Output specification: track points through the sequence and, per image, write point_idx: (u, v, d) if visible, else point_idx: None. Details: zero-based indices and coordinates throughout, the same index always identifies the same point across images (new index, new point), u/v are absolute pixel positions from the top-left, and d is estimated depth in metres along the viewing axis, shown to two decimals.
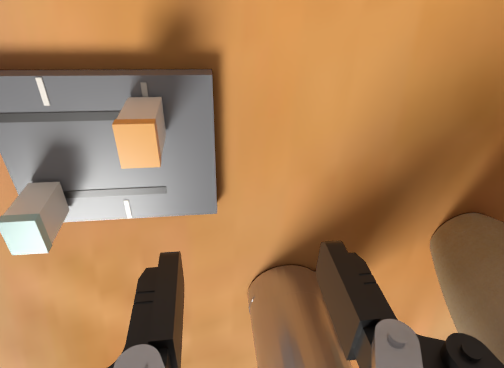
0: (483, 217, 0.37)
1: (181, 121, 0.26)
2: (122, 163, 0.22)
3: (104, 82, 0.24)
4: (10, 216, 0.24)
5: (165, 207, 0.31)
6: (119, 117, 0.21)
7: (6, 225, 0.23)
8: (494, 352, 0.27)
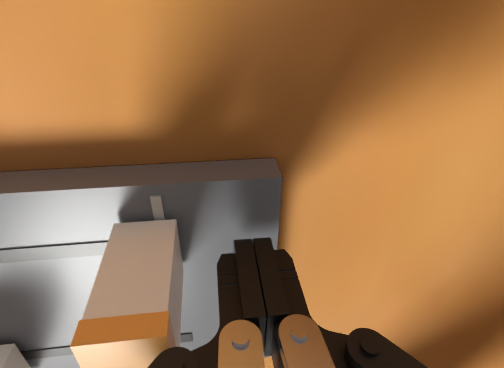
0: None
1: (222, 248, 0.15)
2: None
3: (82, 199, 0.13)
4: None
5: None
6: (91, 307, 0.10)
7: None
8: None
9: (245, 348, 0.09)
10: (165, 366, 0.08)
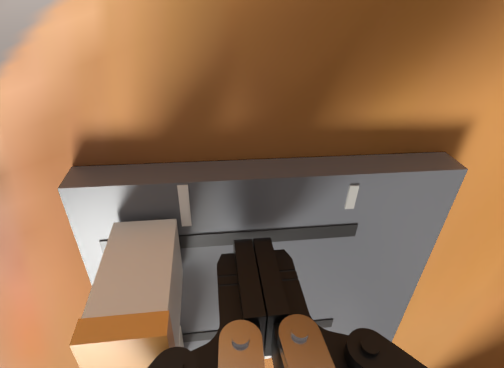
0: None
1: (391, 236, 0.16)
2: None
3: (290, 187, 0.14)
4: None
5: None
6: (90, 305, 0.10)
7: None
8: None
9: (245, 348, 0.09)
10: (165, 366, 0.08)
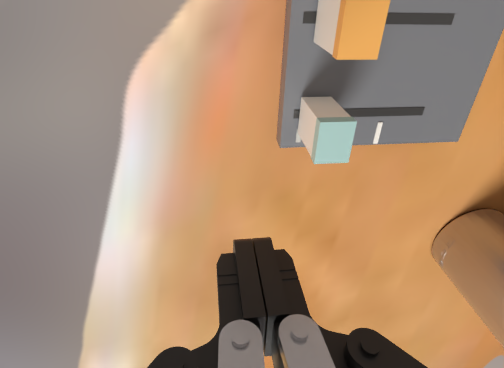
0: None
1: (473, 28, 0.25)
2: (340, 52, 0.19)
3: None
4: (325, 118, 0.22)
5: (413, 132, 0.29)
6: None
7: (327, 126, 0.22)
8: None
9: (245, 348, 0.09)
10: (165, 366, 0.08)
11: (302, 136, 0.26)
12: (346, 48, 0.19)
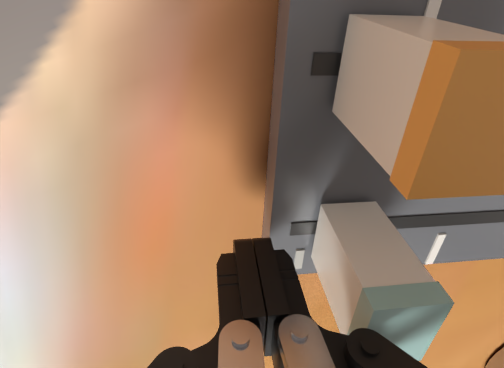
0: None
1: None
2: (417, 184, 0.07)
3: None
4: (381, 290, 0.10)
5: (493, 245, 0.17)
6: (428, 38, 0.07)
7: (389, 314, 0.10)
8: None
9: (245, 348, 0.09)
10: (165, 366, 0.08)
11: (322, 276, 0.14)
12: (436, 174, 0.07)
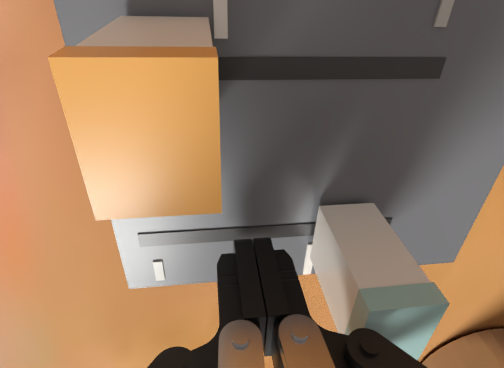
0: None
1: (484, 84, 0.12)
2: (98, 204, 0.06)
3: None
4: (377, 290, 0.10)
5: None
6: (86, 44, 0.06)
7: (385, 315, 0.10)
8: None
9: (245, 348, 0.09)
10: (165, 366, 0.08)
11: (320, 277, 0.14)
12: (114, 193, 0.06)
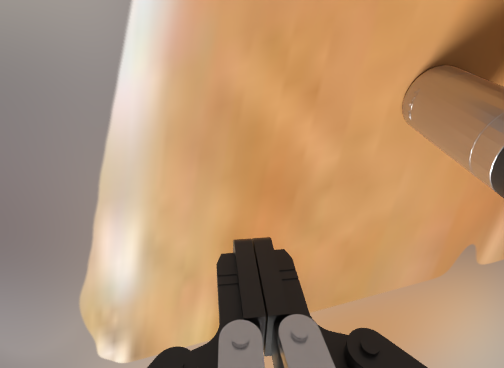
0: None
1: None
2: None
3: None
4: None
5: None
6: None
7: None
8: None
9: (245, 348, 0.09)
10: (165, 366, 0.08)
11: None
12: None
